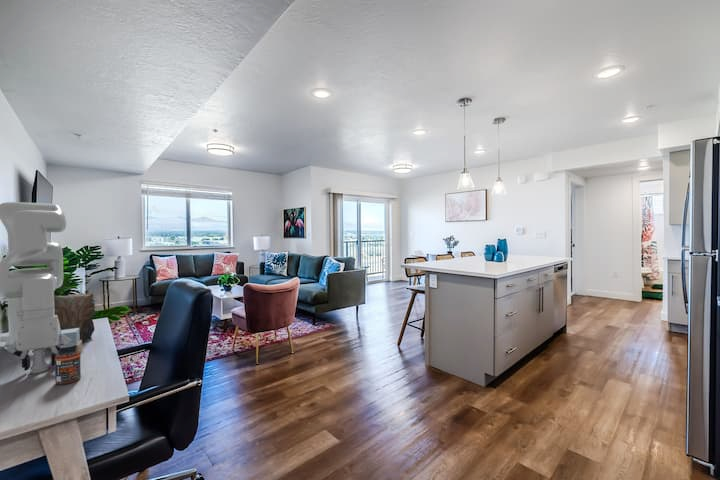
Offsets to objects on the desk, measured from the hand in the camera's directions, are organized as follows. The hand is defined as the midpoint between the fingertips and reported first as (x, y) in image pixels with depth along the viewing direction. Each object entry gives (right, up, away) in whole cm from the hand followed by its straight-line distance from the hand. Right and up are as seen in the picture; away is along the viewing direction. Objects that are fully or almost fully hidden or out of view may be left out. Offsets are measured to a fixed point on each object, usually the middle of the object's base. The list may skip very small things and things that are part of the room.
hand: (41, 366), depth 107 cm
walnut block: (-2, -1, +12) cm, 12 cm away
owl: (-15, -1, +27) cm, 31 cm away
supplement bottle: (+16, -2, -7) cm, 18 cm away
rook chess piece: (-1, -2, 0) cm, 2 cm away
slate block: (-2, +4, +12) cm, 12 cm away
